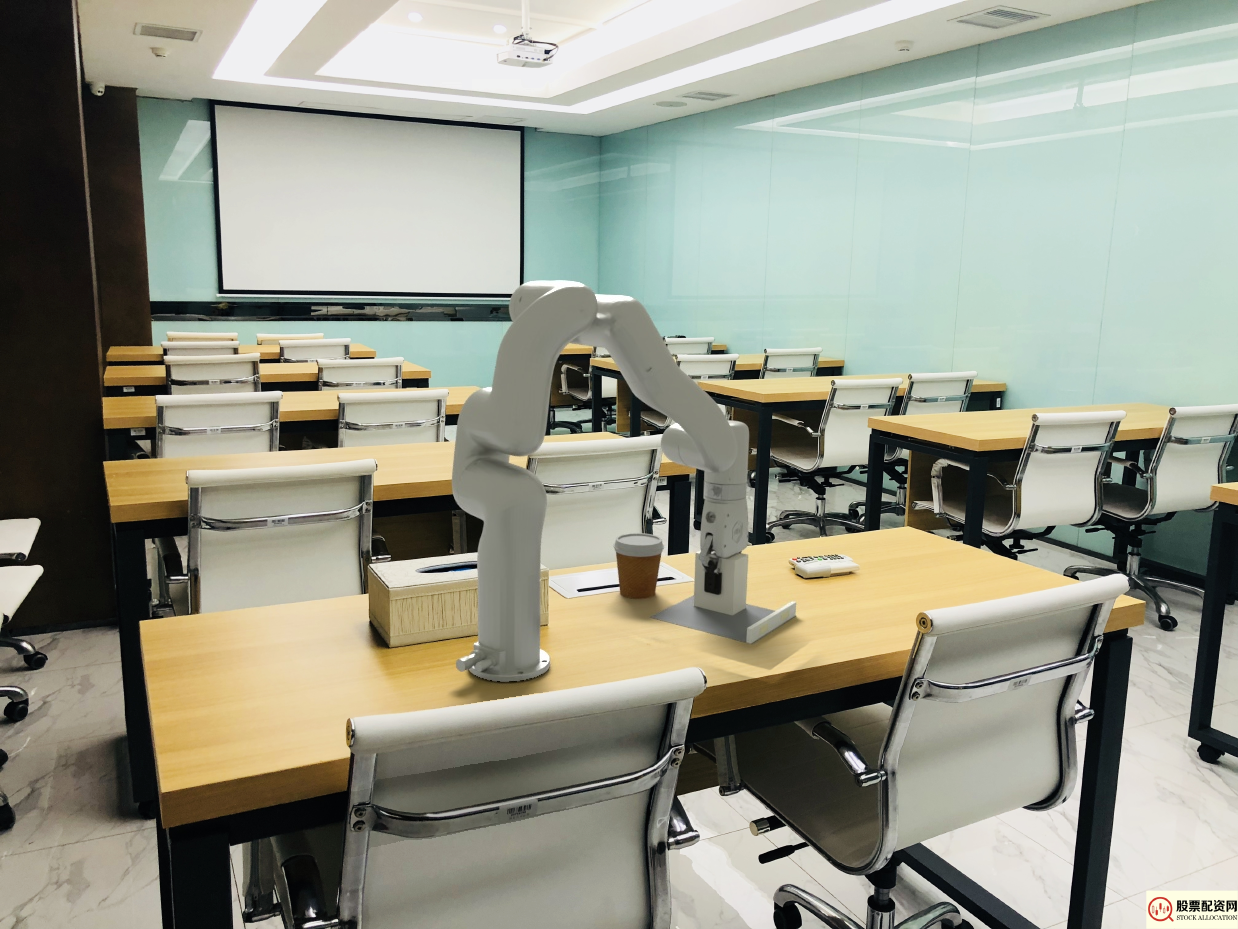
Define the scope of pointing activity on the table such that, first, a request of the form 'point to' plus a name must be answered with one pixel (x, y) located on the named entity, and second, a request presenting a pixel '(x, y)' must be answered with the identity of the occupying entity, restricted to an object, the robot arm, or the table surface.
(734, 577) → the carton
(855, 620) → the table surface
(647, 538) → the disposable coffee cup
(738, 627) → the shelf board
